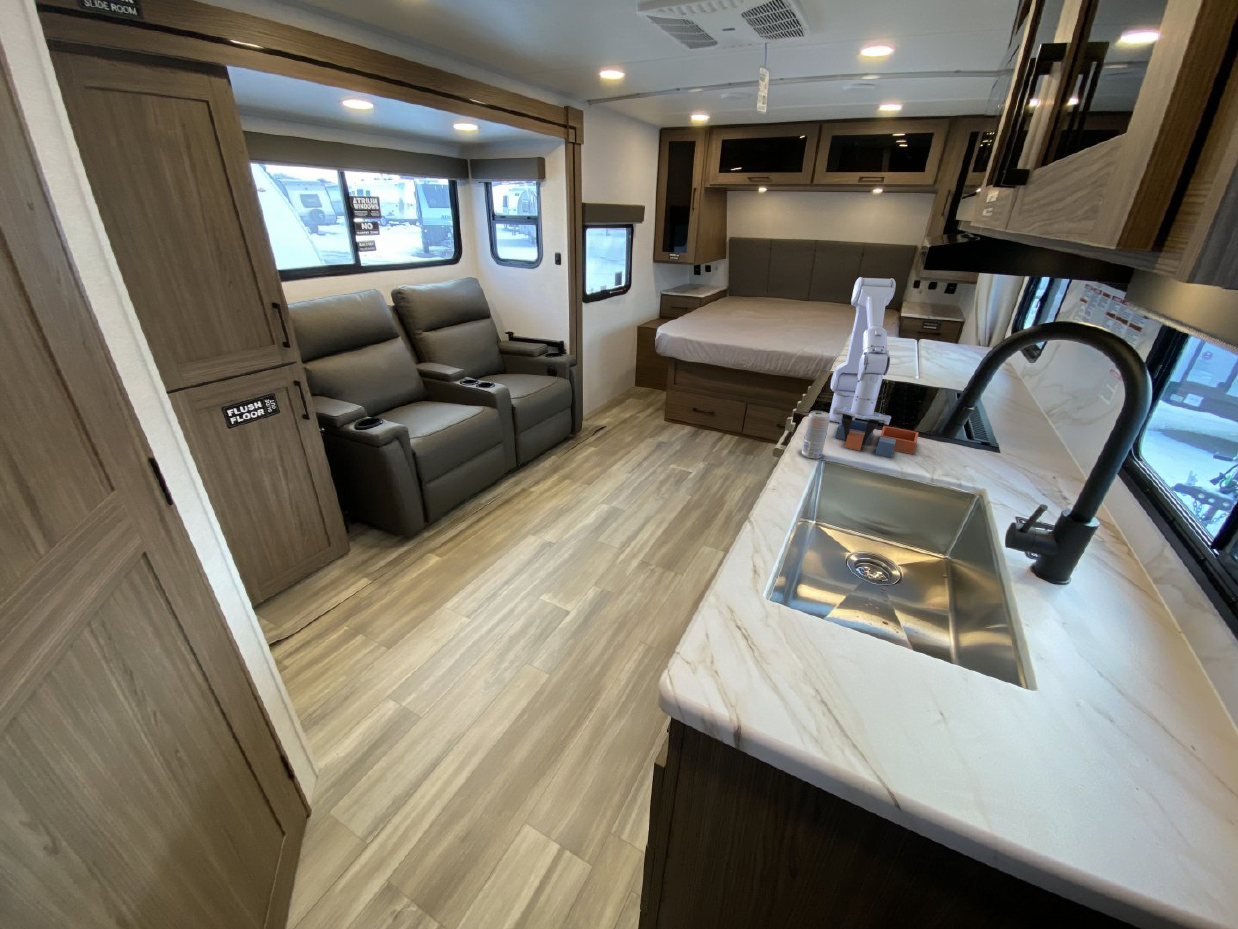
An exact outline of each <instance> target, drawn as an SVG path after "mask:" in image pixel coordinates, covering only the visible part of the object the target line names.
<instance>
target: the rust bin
mask: <svg viewBox="0 0 1238 929" xmlns="http://www.w3.org/2000/svg"><path fill="white" fill-rule="evenodd" d="M880 436H881V437H886V438H891V439H896V442H895V446H894V449H893V451H896V452H901V453H905V454H909V455H910V454H911V455H914V453H915V450H916V448H917V444H918V437H919V432H918V431H914V430H909V429H902V428H898V427H893V426H892V427H891V426H889V425H883V427H882V430H881V432H880ZM880 436H879V437H880Z"/></svg>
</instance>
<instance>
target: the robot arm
mask: <svg viewBox="0 0 1238 929" xmlns="http://www.w3.org/2000/svg"><path fill="white" fill-rule="evenodd" d="M896 284H897V283H896V281H895V279H894V278H874V277H861V276H859V277H858V278H857V279H856V280H855V283H854V286H853V290H852V296H851V300H850V302H851V304H850V305H851V306H853V307H854V308H855V317H854V322H853V326H852V330H851V336H850V340H849V346H848V349H847V354H846V359H845V360H844V362H842V363H840V364H838V365H837V366H835V368H834V370H833V374H832V376H831V380H830V389H831V391H832V392H833V397H832V401H831V406H830V409H829V412H828V414H830V421H829V422H833V423H837V424H838V423H839V424H840V422H841V420H842V424H843V428H844V440H843V442H844V443H846V441H847V436H848V434H849V431H850V426H851V422H852V420H856V419H860V420H865V421H867V427H866V431H865V435H864V438H863V441H862V446H865V445H866V444H865V442H866V440H867V438H868V437H869V435H870V434H871V433H872V431H873V430H874V431H875V429H877V427H878V425H879V424H880V423H881V424H884V425H886V426H889V425H890V422H891V419H892V416H891V415H887V414H883V413H880V412H876V411H875V409H876V405H877V401H878V397H879V393H880V390H881V386H882V382H883V378H884V376H886V375H887V374H888V372H889V369H890V365H891V355H890V350H888V349H887V348H888V347H887V346H888V345H887V344H888V332H887V330H886V329H885V328H883V327H884V326H883V325H884V320H885V318H884V317H885V311H886V306H889V304H890V302H891V300H892V299H893V297H894V296H895V292H896V286H897V285H896ZM874 431H873V432H874Z"/></svg>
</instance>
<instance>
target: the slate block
mask: <svg viewBox="0 0 1238 929" xmlns="http://www.w3.org/2000/svg"><path fill="white" fill-rule="evenodd" d="M895 442H896V439H891V438H886V437H881V436H879V439H878V443H877V447H876V449H875V453H874V454H875V455H877V456H882V457H886V458H892V456H893V452H894V450H893V449H894V446H895Z"/></svg>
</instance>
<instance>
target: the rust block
mask: <svg viewBox="0 0 1238 929" xmlns="http://www.w3.org/2000/svg"><path fill="white" fill-rule="evenodd" d="M864 435H865V433H861V432H856V431H851V430H850V432H849V434H848V436H847V441H846V442H845V445H844V448H845V449H850V450H854V451H858V452H860V451H861V449H862V446H863V445H862V441H863V438H864Z"/></svg>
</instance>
